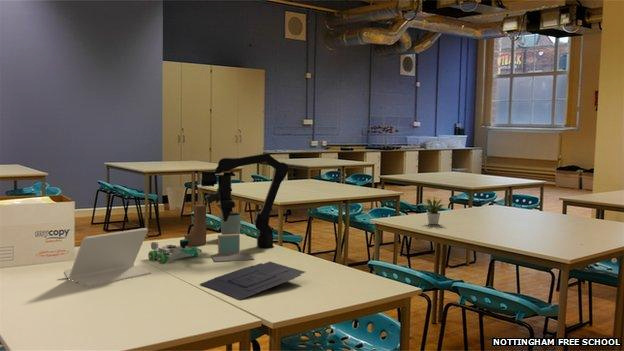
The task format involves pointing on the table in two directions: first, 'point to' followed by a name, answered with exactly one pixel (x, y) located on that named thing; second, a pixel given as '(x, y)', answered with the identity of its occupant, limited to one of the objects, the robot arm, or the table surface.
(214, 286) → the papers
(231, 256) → the mat
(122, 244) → the tablet stand
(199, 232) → the wooden block
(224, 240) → the tile
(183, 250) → the robot kit
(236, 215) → the drinking glass
